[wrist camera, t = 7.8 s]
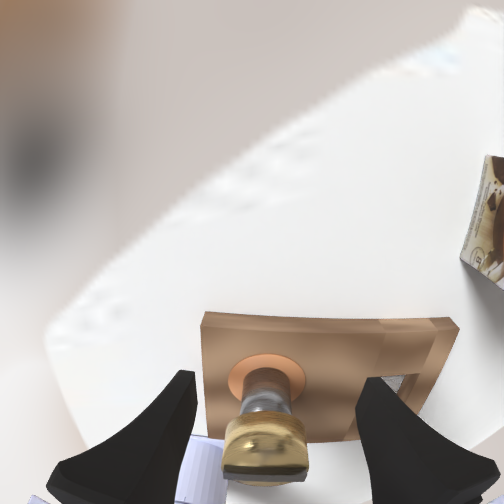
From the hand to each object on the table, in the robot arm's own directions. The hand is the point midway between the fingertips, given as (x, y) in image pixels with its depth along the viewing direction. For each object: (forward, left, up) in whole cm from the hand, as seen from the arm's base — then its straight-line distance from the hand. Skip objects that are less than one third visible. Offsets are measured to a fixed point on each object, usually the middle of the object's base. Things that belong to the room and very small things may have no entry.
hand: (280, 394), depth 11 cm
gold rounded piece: (-8, 0, -8) cm, 11 cm away
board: (-10, -6, -10) cm, 15 cm away
